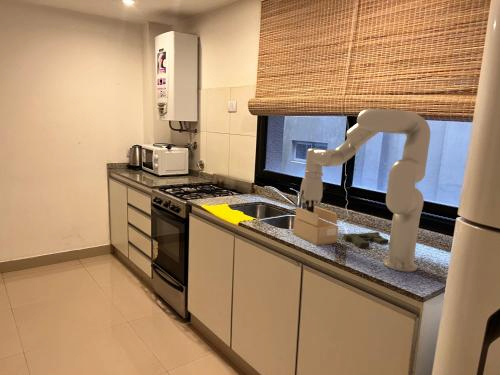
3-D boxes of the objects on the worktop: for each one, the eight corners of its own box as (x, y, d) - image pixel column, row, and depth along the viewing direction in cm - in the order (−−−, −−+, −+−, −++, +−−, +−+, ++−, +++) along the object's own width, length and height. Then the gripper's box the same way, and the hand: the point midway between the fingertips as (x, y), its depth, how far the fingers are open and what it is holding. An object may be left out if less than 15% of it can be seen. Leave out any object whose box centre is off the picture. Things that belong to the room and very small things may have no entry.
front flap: (318, 214, 163) (317, 214, 163) (317, 226, 164) (316, 226, 164) (297, 206, 177) (296, 206, 177) (296, 217, 178) (295, 217, 178)
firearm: (398, 239, 174) (375, 230, 187) (361, 243, 163) (339, 233, 176) (397, 245, 175) (374, 236, 188) (360, 250, 164) (338, 239, 177)
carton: (337, 243, 170) (339, 225, 168) (317, 245, 164) (318, 227, 163) (311, 231, 186) (313, 215, 185) (292, 233, 181) (293, 217, 179)
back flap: (336, 224, 169) (337, 224, 170) (335, 213, 168) (336, 213, 168) (314, 216, 184) (314, 215, 184) (313, 206, 182) (314, 205, 182)
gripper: (320, 174, 175) (317, 211, 178) (295, 174, 168) (291, 213, 171) (331, 176, 169) (327, 215, 172) (304, 176, 162) (301, 217, 165)
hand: (309, 214), depth 172 cm, fingers closed
